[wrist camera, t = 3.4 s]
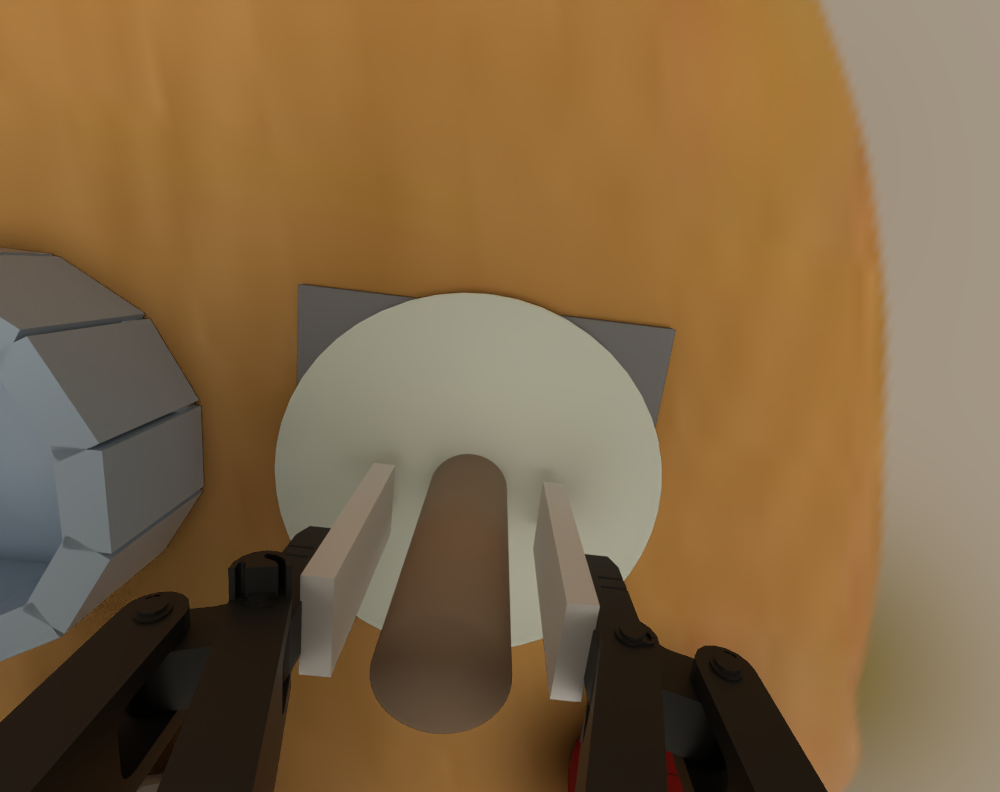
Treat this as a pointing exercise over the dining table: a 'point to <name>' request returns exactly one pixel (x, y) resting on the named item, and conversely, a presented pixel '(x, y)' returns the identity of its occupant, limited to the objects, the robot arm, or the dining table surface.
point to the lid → (466, 481)
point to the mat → (342, 309)
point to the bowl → (83, 446)
